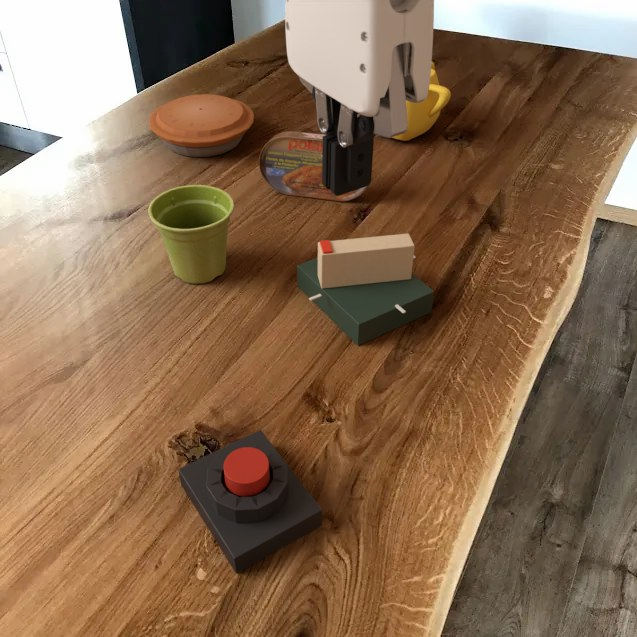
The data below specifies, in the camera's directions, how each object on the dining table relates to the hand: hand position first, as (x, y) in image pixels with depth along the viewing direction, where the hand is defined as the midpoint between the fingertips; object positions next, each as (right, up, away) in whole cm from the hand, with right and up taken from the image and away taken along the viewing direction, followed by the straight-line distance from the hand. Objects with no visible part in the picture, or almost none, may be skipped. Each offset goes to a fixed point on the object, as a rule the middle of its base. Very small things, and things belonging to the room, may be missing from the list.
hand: (346, 185), depth 52 cm
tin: (-2, +7, +47) cm, 48 cm away
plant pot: (-16, -4, +34) cm, 38 cm away
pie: (-19, +17, +59) cm, 64 cm away
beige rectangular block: (+3, -5, +28) cm, 28 cm away
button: (-8, -22, +7) cm, 25 cm away
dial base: (+3, -7, +30) cm, 31 cm away
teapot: (+10, +20, +62) cm, 66 cm away
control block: (-8, -25, +9) cm, 28 cm away
